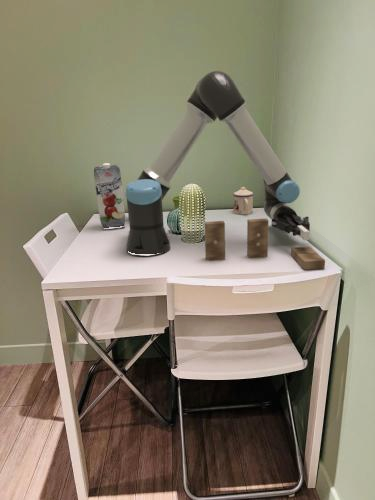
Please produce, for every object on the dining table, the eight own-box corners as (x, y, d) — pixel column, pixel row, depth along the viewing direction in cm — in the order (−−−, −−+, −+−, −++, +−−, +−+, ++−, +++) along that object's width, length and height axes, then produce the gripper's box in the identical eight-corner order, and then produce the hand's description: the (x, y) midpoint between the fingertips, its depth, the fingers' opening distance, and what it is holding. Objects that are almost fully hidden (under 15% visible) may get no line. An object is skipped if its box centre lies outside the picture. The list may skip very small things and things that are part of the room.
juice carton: (100, 226, 161) (92, 162, 152) (124, 223, 164) (118, 161, 154) (101, 231, 153) (92, 165, 144) (126, 228, 155) (120, 163, 146)
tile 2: (248, 258, 117) (249, 221, 113) (247, 255, 120) (247, 219, 116) (267, 257, 117) (268, 220, 113) (265, 254, 120) (266, 218, 116)
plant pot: (196, 216, 170) (196, 197, 167) (178, 219, 166) (177, 200, 163) (186, 212, 178) (186, 194, 175) (169, 215, 173) (168, 197, 170)
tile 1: (206, 260, 117) (205, 224, 113) (205, 257, 119) (204, 221, 115) (225, 259, 117) (224, 223, 113) (224, 256, 119) (223, 220, 115)
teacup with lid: (231, 210, 176) (231, 186, 172) (250, 209, 177) (250, 185, 173) (236, 216, 165) (236, 191, 161) (256, 215, 166) (257, 189, 162)
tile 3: (290, 255, 118) (303, 270, 106) (291, 247, 117) (304, 261, 105) (309, 254, 118) (324, 269, 106) (310, 246, 117) (325, 260, 106)
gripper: (301, 224, 134) (327, 246, 111) (265, 227, 133) (284, 249, 111) (302, 204, 131) (329, 222, 109) (265, 206, 131) (285, 225, 109)
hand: (306, 235), depth 110 cm, fingers closed
